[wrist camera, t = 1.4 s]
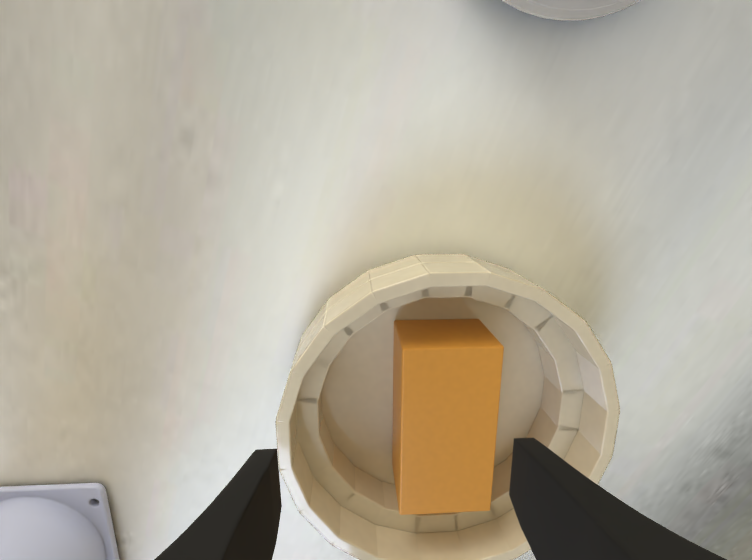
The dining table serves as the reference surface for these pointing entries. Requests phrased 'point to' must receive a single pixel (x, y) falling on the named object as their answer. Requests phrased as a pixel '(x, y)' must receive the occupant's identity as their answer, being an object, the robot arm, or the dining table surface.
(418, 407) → the orange rectangular block
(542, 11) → the lid
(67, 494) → the robot arm
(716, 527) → the dining table surface
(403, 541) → the bowl
